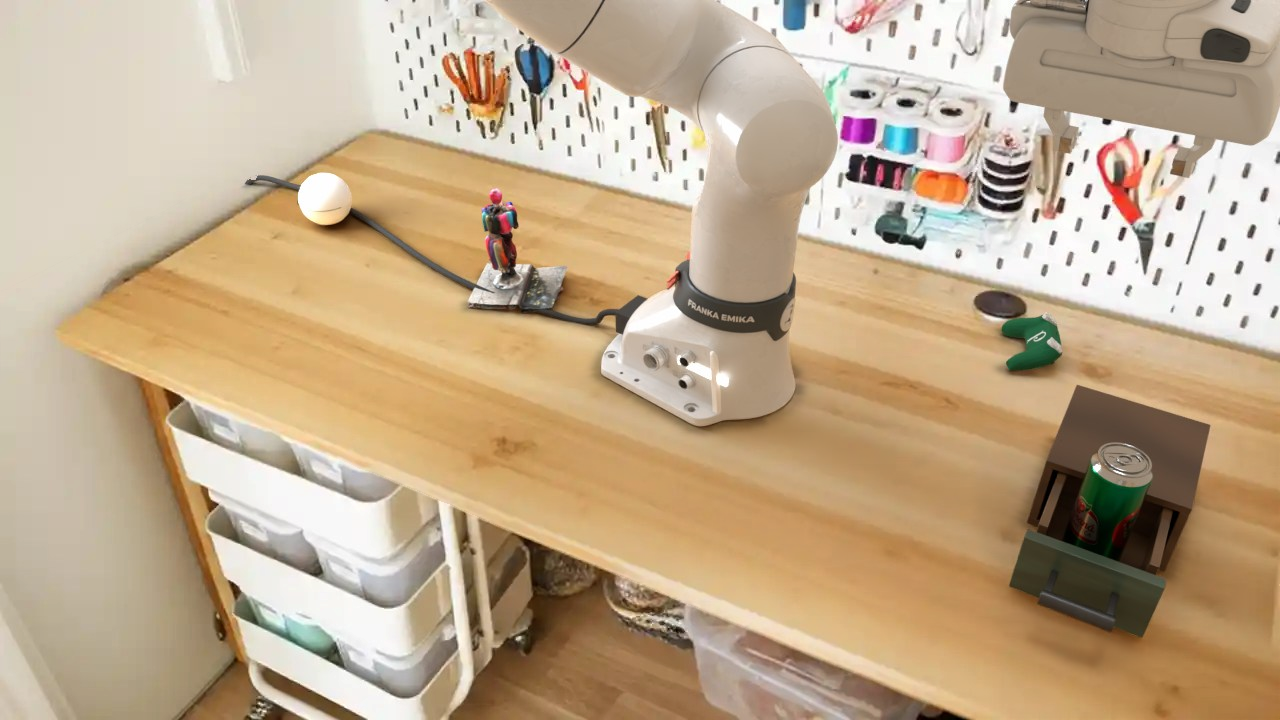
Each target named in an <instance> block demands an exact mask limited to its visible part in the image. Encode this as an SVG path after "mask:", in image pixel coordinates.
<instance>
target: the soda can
mask: <svg viewBox="0 0 1280 720" xmlns="http://www.w3.org/2000/svg"><path fill="white" fill-rule="evenodd" d="M1151 469H1152V463H1151V460H1150V458H1149V457H1148V456H1147V455H1146V454H1145V453H1144V452H1143V451H1141V450H1140V449H1138V448H1136V447H1134V446H1131V445H1128V444H1124V443H1107V444H1105V445H1103V446H1101V447H1100V448H1099V450H1098V451H1097V452H1096V453H1094V454H1093V455H1092V457H1091V458H1090V461H1089V464H1088V467H1087V470H1086V473H1085V476H1084V478H1083V481H1082V484H1081V487H1080V490H1079V493H1078V496H1077V498H1076V501H1075V504H1074V507H1073V510H1072V513H1071V516H1070V518H1069V521H1068V524H1067V527H1066V530H1065V533H1064V536H1063V538H1062V542H1065V543H1068V544H1071V545H1073V546H1076V547H1079V548H1082V549H1085V550H1087V551H1090V552H1093V553H1096V554H1098V555H1101V556H1104V557H1107V558H1109V559H1112V560H1115V561H1118V562H1119V561H1120V559H1121V557H1122V554H1123V552H1124V549H1125V547H1126V544H1127V542H1128V539H1129V537H1130V534H1131V532H1132V529H1133V527H1134V524H1135V522H1136V519H1137V517H1138V514H1139V512H1140V509H1141V507H1142V504H1143V502H1144V499H1145V497H1146V494H1147V492H1148V489H1149V487H1150V484H1151V482H1152V480H1153V472H1152V470H1151Z"/></svg>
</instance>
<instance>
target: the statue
mask: <svg viewBox="0 0 1280 720" xmlns="http://www.w3.org/2000/svg"><path fill="white" fill-rule="evenodd" d="M488 195H489V196H488V197H489V200H490V201H491V204H490V203H489V204H486V205H485V207H482V208H481V220H482V226H483V231H484V232H485V233H488V235H486V237H485V238H484V242H485V243H484V244H485V248H486V252H487V255H488V257H489V259H488V261H489V262H490V263H489V262H487V263H486V264H485V266H484V268H483V270H482V272H481V274H480V276H479V278H478V280H477V282H476V283H475V284H476V285H479V286H481V287H483V288H486V289H488V290H490V291H492V292H495V293H491V292H487V291H484V290H481V289H478V288H474V290H472V292H471V294H470V296H469V298H468V299H467V301H466V303H467V304H468V305H467V309H470V308H473V309H476V308H481V309H483V310H484V309H485V310H491V309H496V310H514V309H516V307H517V306H516V304H518V305H519V307H518V308H519V309H520V310H521V311H520V313H521V314H526V313H535V312H534V311H531V310H527V309H529V308H530V307H522V306H521V303H520V301H522V302H526V303H529V304H533V305H536V306H539V307H541V308H532V309H543V308H547V309H550V308H551V309H552V308H553V306H554V304H555V301H557V300H559V299H560V295H559V293H560V292H562V291H563V290H564V286H562V284H563V280H564V278H566V277H567V275H566V273H567V269H568V267H569V266H568V265H558V266H557V265H556V266H547V267H546V266H544V267H534V265H533V264H531V263H524V264H523V263H517V256H518V254H517V253H518V252H517V247H516V245H515V243H514V242H513V237H514V234H513V232H512V229H513V230H517V229H519V227H520V226H519V222H518V212H517V208H516V207H515V206H514V205H513V204H514V203H513V202H512V201H507V202H506V204H505V203H504V202H503V201H502V200H503V193H502V191H501V189H500V188H493V189H492V190H491V191H490V192H489V194H488Z"/></svg>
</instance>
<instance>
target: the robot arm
mask: <svg viewBox="0 0 1280 720" xmlns="http://www.w3.org/2000/svg"><path fill="white" fill-rule="evenodd" d="M483 2H484V3H486V4H487V5H488V6H489V7H490V8H491V9H492V10H494V12H496V13H498V14H499V16H501V17H502V18H504V19H505V20H506V21H507V22H508V23H510V24H511V25H512V26H514V28H516V29H518V30H519V31H520V32H522V33H523V34H525V35H526V36H528V37H529V38H530V39H532V40H533V41H535V42H536V43H537V44H539V45H541V46H542V47H544V48H546V49H547V50H549V51H551V52H552V53H554V54H556V55H557V56H558V57H561V58H562V59H564V60H565V61H567V62H569V63H571V64H572V65H573V66H575V67H578V69H581V70H583V71H585V72H586V73H587V74H589V75H591V76H592V77H594V78H596V79H597V80H599V81H601V82H602V83H605V84H606V85H608V86H609V87H611V88H613V89H614V90H617V91H618V92H620V93H621V94H623V95H625V96H627V97H632V98H639V97H640V98H643V99H647V100H649V101H652V102H655V103H658V104H660V105H663V106H664V107H665V106H666V107H668V108H670V109H672V110H674V111H676V112H679V113H680V114H681V115H683V116H685V117H687V118H688V119H689V120H690V121H691V122H692V123H693V124H695V126H696V127H697V128H699V130H700V131H701V132H702V133H703V135H704V140H705V144H706V149H707V163H706V165H707V166H706V172H705V177H704V181H703V183H702V188H701V191H700V195H699V196H698V197H697V198H696V199H695V201H694V203H693V204H692V208H691V219H690V220H691V223H690V243H689V244H690V245H689V246H690V247H689V251H688V252H687V253H686V256H685V259H686V260H683V261H682V262H680V263H679V264H678V265H677V266H676V267H675V271H674V273H673V274H671V275H670V276H669V277H668V279H667V280H666V283H667V286H666V288H665V289H663V290H660V291H658V292H656V293H655V294H653V295H651V296H650V297H649V298H647V297H645V296H642V295H640V294H638V295H636V296H635V297H634V298H632V299H631V300H630V301H628V302H627V303H625V304H624V305H622V307H619V309H618V308H606V309H603V310H600V311H599V312H598V314H597V315H596V317H592V318H582V317H576V316H571V315H568V314H566V313H563V312H559V311H556V310H553V309H550V308H548V309H547V308H543V309H532V308H541V307H539V306H536V305H533V304H529V303H526V302H522V301H520V303H521V306H522V307H530V308H529V309H527V310H531V311H534V312H533V313H538V314H541V315H544V316H545V315H546V316H548V317H550V318H554V319H557V320H559V321H563V322H568V323H574V324H580V325H586V326H594V325H598V324H601V322H602V321H603V320H604V319H605V317H608V316H609V317H610V316H613V317H615V333H618V334H617V335H616V336H615V337H614V338H613V339H612V341H611V342H610V343H609V344H608V346H606V349H605V350H604V352H603V353H602V354H603V355H602V357H601V362H600V373H601V375H602V376H603V377H605V378H606V379H608V380H610V381H612V382H613V383H615V384H617V385H619V386H621V387H623V388H625V389H626V390H629V391H630V392H632V393H634V394H635V395H638V396H639V397H641V398H643V399H645V400H646V401H648V402H650V403H652V404H654V405H656V406H658V407H659V408H661V409H662V410H664V411H666V412H669V413H671V414H672V415H674V416H676V417H677V418H679V419H681V420H683V421H685V422H687V423H689V424H690V425H692V426H694V427H695V426H696V427H706V426H710V425H713V424H717V423H719V422H722V421H731V420H732V421H733V420H747V419H748V420H749V419H755V418H760V417H763V416H768V415H769V414H772V413H774V412H777V411H778V410H780V409H782V407H784V406H785V405H786V404H787V403H788V402H789V401H790V400H791V399H792V397H793V395H794V394H795V391H796V378H795V375H794V374H795V373H794V370H793V365H792V357H791V347H790V346H791V345H790V344H791V343H790V329H791V327H792V323H793V319H794V317H795V308H796V289H797V277H796V274H795V272H794V270H795V261H796V254H797V244H798V236H799V229H800V222H801V217H802V214H803V210H804V206H805V203H806V200H807V198H808V197H809V193H810V191H811V188H812V187H813V186H815V185H816V184H817V183H819V181H821V180H822V179H823V178H824V176H825V175H826V174H827V173H828V171H829V170H830V168H831V166H832V165H833V163H834V161H835V159H836V155H837V152H838V144H839V140H838V139H839V135H838V130H837V126H836V122H835V119H834V118H835V117H834V115H833V112H832V109H831V107H830V103H829V101H828V99H827V96H826V94H825V92H824V91H823V90H822V88H821V87H820V86H819V85H818V83H816V81H815V80H814V79H813V78H812V77H811V75H809V73H808V72H807V71H806V70H805V69H804V67H803V66H802V65H801V64H800V62H799V61H797V59H796V58H795V57H794V56H793V55H792V54H791V53H790V52H789V50H788V49H787V48H786V47H785V46H784V45H783V43H782V42H781V41H780V40H779V38H778V37H776V36H775V35H774V34H772V33H771V32H770V31H768V30H767V29H765V28H763V27H762V26H760V25H759V24H757V23H755V22H754V21H752V20H750V19H749V18H747V17H745V16H744V15H742V14H740V13H738V12H737V11H735V10H733V9H732V8H730V7H728V6H726V5H725V4H722V3H721V2H719V1H717V0H483ZM1009 20H1010V21H1009V32H1010V35H1011V38H1012V39H1013V43H1012V45H1011V48H1010V52H1009V55H1008V58H1007V63H1006V67H1005V71H1004V76H1003V84H1002V90H1003V92H1004V93H1005V95H1006V96H1007V98H1008V99H1009V100H1010V101H1011V102H1014V103H1019V104H1025V105H1028V106H1029V105H1030V106H1036V107H1041V108H1044V109H1043V118H1044V120H1045V122H1046V124H1047V126H1048V128H1049V130H1050V131H1051V133H1052V135H1054V138H1053V144H1052V151H1054V152H1059V153H1063V154H1069V155H1070V154H1072V152H1073V150H1074V149H1075V148H1076V146H1077V142H1078V137H1077V136H1078V134H1079V129H1080V127H1079V126H1074V125H1071V124H1070V123H1069V120H1068V118H1067V116H1066V113H1065V112H1068V113H1073V114H1078V115H1084V116H1089V117H1092V118H1093V117H1094V118H1100V119H1105V120H1109V121H1115V122H1120V123H1126V124H1132V125H1138V126H1142V127H1148V128H1153V129H1158V130H1163V131H1168V132H1175V133H1180V134H1184V135H1190V136H1194V138H1193V142H1192V144H1193V145H1192V146H1190V148H1189V147H1184V146H1179V147H1178V149H1177V151H1176V153H1175V155H1174V157H1173V159H1172V164H1171V168H1170V170H1169V171H1170V172H1169V175H1173V176H1178V177H1182V178H1186V179H1190V177H1191V175H1192V174H1193V171H1194V169H1195V166H1196V163H1197V161H1199V160H1200V159H1201V158H1202V157H1203V156H1205V155H1206V154H1207V153H1209V152H1210V151H1211V150H1212V149H1213V147H1214V145H1215V143H1216V141H1217V140H1218V141H1223V142H1227V143H1228V142H1229V143H1233V144H1234V143H1235V144H1237V145H1244V146H1251V147H1252V146H1255V145H1257V144H1259V143H1261V142H1263V141H1264V140H1266V139H1267V138H1269V136H1270V134H1271V132H1272V130H1273V128H1274V126H1275V123H1276V120H1277V117H1278V114H1279V110H1280V0H1016V1H1015V3H1014V4H1013V5H1012V7H1011V11H1010V19H1009ZM256 176H257V175H256ZM248 179H249V178H248ZM248 179H246V181H245V182H244V185H247V186H250V185H252V184H253V183H255V182H258V181H259V182H260V181H263V182H267V183H268V182H269V183H272V184H275V185H278V186H282V187H285V188H288V189H291V190H295V191H299V190H300V188H301V185H302V184H297V183H294V182H289V181H287V180H283V179H280V178H278V177H273V176H269V175H264V174H258V176H257V178H256V180H251V179H249V180H248ZM348 214H351V215H352V216H355V217H356V218H358V219H360V220H361V221H364V222H365V223H366V224H367V225H369V226H370V227H372V228H373V229H375V230H376V231H378V232H379V233H380V234H382V235H383V236H384V237H386V238H387V239H389V240H391V241H392V243H394V244H396V245H397V246H399V247H400V248H401V249H403V250H404V251H405V252H407V253H408V254H409V255H411V256H413V257H414V258H415V259H417V260H419V261H420V262H421V263H423V264H425V265H426V266H428V267H429V268H431V269H432V270H433V271H436V272H437V273H439V274H440V275H443V276H444V277H446V278H448V279H450V280H452V281H454V282H456V283H457V284H460V285H462V286H464V287H465V288H468V289H471V290H472V291H473V290H474V288H478V289H481V290H484V291H487V292H491V293H495V292H492V291H490V290H488V289H486V288H483V287H481V286H479V285H476V284H477V283H474V282H472V281H470V280H467V279H465V278H463V277H461V276H460V275H458V274H456V273H453V272H452V271H449V270H448V269H446V268H445V267H442V266H440V265H439V264H437V263H436V262H434V261H433V260H431V259H430V258H428V257H426V256H424V255H423V254H422V253H420V252H419V251H417V250H416V249H414V248H413V247H411V246H410V245H408V244H407V243H406V242H404V241H403V240H402V239H400V238H399V237H397V236H396V235H395V234H393V233H392V232H391V231H389V230H388V229H386V228H385V227H383V226H382V225H381V224H379V223H378V222H376V221H375V220H373V219H372V218H370V217H368V216H367V215H365V214H364V213H362V212H360V211H359V210H357V209H355V208H354V207H352V206H351V209H350V211H349V213H348ZM516 307H517V308H520V307H519V305H518V304H516Z"/></svg>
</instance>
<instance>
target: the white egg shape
mask: <svg viewBox="0 0 1280 720" xmlns="http://www.w3.org/2000/svg"><path fill="white" fill-rule="evenodd" d="M300 185H301V188H300V190H298V194H297V200H296V201H297V203H296V204H297V205H299V208H300V210H301V212H302V214H303V216H305V217H304V219H306V218H307V219H308V220H310V221H311V222H313V223H314V224H316V225H321V226H331V225H336V224H338V223H340V222H342V221H344V219H345V218H346V217H347V216H348V215H349V214H350V213H349V211H350V209H351V207H352V204H353V194H352V191H351V188H350V187H349V185H348V184H347V183H346V182H345V181H344V179H342V178H341V177H340V176H337V175H336V174H334V173H329V172H318V173H315V174H312V175H310V176H308V177H307V178H306V179H305V180H304V182H302V184H300Z"/></svg>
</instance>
